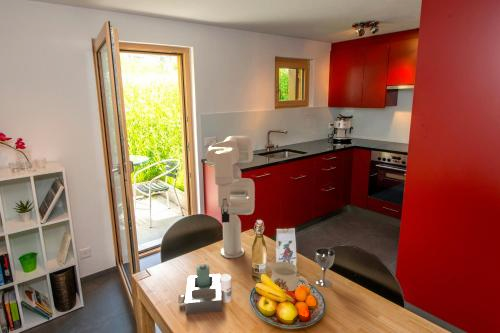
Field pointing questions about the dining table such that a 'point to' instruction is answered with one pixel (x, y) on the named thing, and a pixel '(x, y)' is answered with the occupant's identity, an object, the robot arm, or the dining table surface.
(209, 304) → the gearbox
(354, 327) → the dining table surface
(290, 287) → the pitcher
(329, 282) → the wine glass
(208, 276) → the green drinking glass
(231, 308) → the dining table surface
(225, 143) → the robot arm
